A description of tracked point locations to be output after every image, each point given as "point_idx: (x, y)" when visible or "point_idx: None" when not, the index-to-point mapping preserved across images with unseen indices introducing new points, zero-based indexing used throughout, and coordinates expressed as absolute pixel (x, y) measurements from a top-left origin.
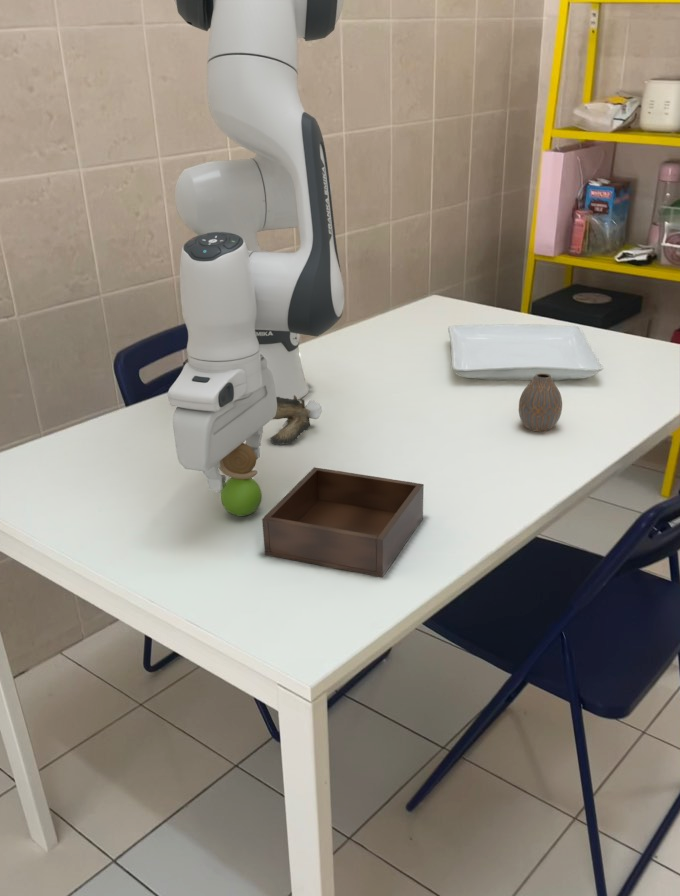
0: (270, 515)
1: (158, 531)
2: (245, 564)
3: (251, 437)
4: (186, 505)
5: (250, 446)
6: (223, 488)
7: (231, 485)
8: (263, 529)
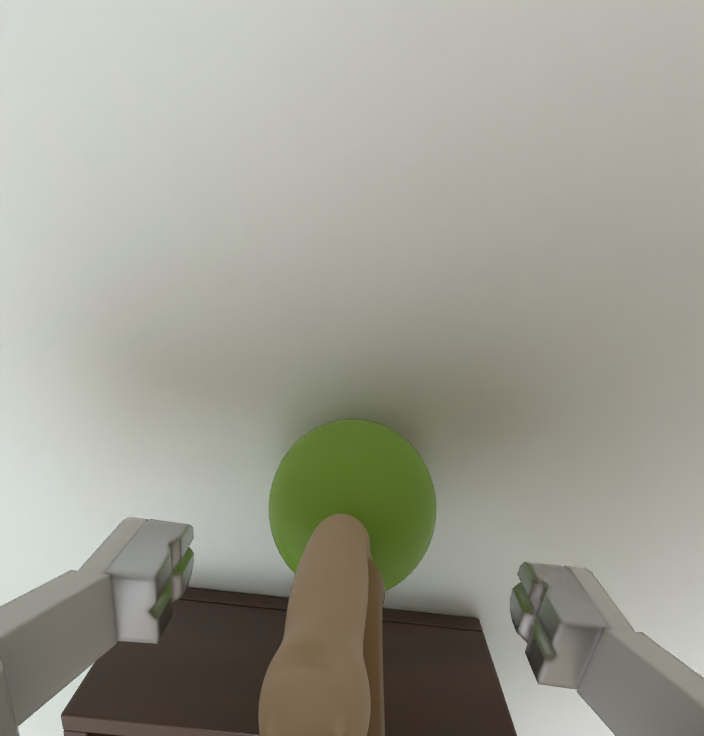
0: (95, 730)
1: (144, 217)
2: (82, 554)
3: (669, 726)
4: (371, 233)
5: (595, 660)
6: (305, 479)
7: (295, 534)
8: (91, 668)
